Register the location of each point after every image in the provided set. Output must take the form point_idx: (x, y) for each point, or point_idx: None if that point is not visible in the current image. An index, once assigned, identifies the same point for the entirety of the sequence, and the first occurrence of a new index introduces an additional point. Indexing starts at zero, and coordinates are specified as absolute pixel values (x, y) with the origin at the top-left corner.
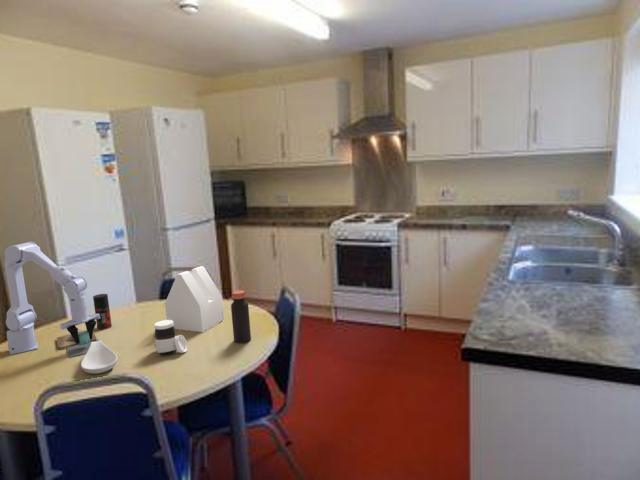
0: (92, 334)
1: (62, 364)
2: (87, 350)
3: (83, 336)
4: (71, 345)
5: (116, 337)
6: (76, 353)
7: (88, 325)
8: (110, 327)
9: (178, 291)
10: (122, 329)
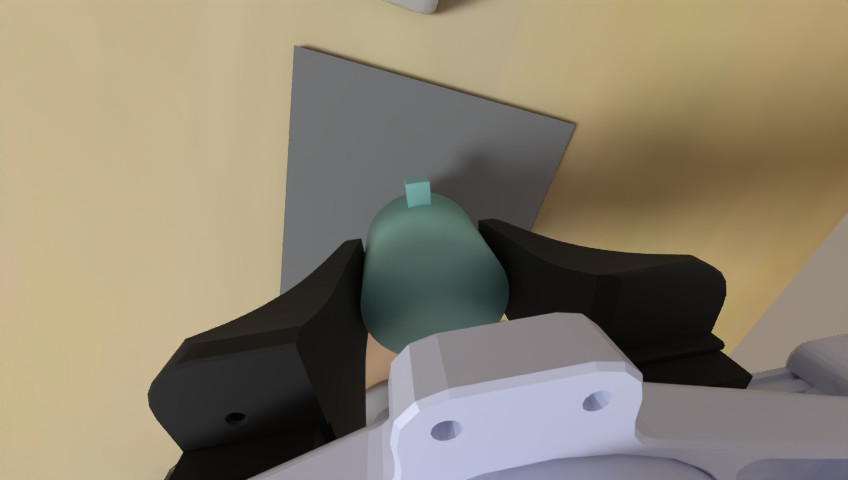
0: (330, 255)
1: (673, 8)
2: (419, 145)
3: (450, 227)
4: None
5: (139, 276)
6: (504, 154)
7: (342, 377)
8: (176, 464)
9: None
10: (86, 398)
